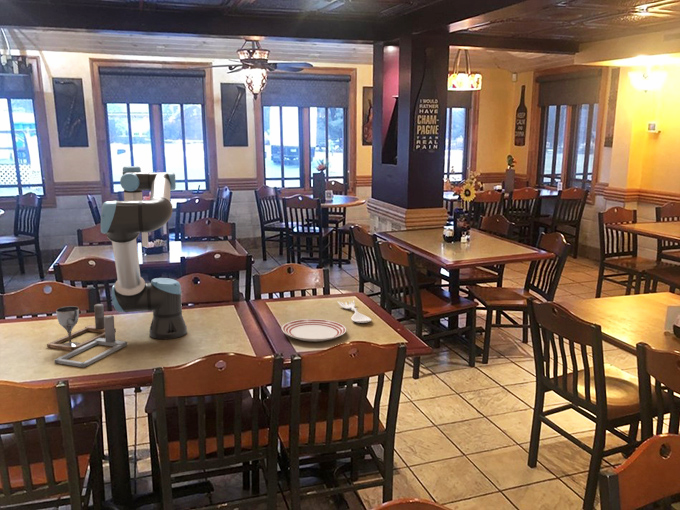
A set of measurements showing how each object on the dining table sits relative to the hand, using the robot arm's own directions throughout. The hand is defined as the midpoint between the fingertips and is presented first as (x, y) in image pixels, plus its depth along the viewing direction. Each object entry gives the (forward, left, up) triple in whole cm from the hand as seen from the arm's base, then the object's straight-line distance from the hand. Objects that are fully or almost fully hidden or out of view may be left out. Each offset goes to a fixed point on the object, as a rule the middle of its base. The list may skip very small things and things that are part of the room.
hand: (136, 249), depth 261 cm
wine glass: (+3, +40, -32) cm, 51 cm away
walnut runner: (+3, +33, -32) cm, 46 cm away
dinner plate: (-83, -5, -32) cm, 89 cm away
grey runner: (-11, +45, -32) cm, 56 cm away
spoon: (-92, -37, -32) cm, 104 cm away
